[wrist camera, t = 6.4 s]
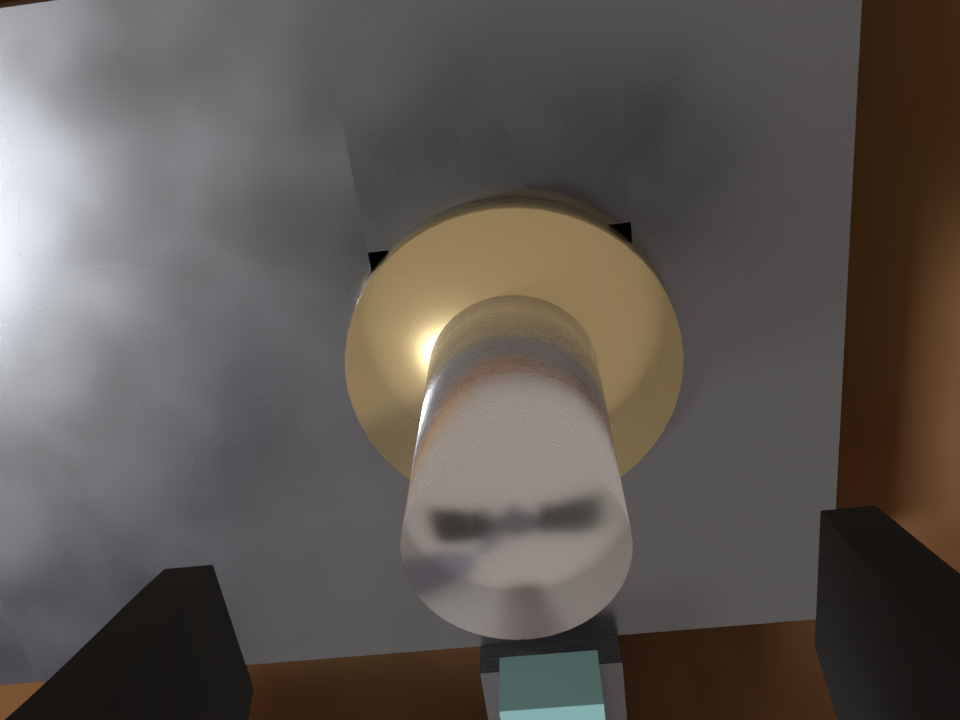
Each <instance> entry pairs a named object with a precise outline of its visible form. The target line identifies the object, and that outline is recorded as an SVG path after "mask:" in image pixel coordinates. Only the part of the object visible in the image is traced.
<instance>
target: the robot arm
mask: <svg viewBox="0 0 960 720" xmlns="http://www.w3.org/2000/svg"><path fill="white" fill-rule="evenodd" d="M815 647H816V651H817V654H818V657H819V661H820V664H821V667H822V671H823V674H824V677H825V681H826V684H827V687H828V690H829V694H830V697H831V700H832V703H833V706H834V709H835V712H836V715H837V718H838V720H960V574H959V573H958V572H957V571H955V570H954V569H953V568H952V567H950V566H949V565H948V564H947V563H945V562H944V561H943V560H942V559H940V558H939V557H938V556H937V555H935V554H934V553H933V552H932V551H931V550H929V549H928V548H927V547H926V546H924V545H923V544H922V543H921V542H920V541H918V540H917V539H916V538H915V537H913V536H912V535H911V534H910V533H908V532H907V531H906V530H905V529H904V528H902V527H901V526H900V525H899V524H897V523H896V522H895V521H894V520H893V519H891V518H890V517H889V516H888V515H886V514H885V513H884V512H882V511H881V510H880V509H879V508H877V507H876V506H867V507H856V508H845V509H833V510H822V511H821V512H820V535H819V558H818V581H817V605H816V628H815ZM252 694H253V686H252V683H251V680H250V677H249V673H248V670H247V667H246V664H245V661H244V658H243V655H242V652H241V649H240V646H239V643H238V640H237V637H236V634H235V631H234V628H233V625H232V622H231V618H230V615H229V612H228V609H227V606H226V603H225V600H224V597H223V594H222V591H221V588H220V585H219V582H218V579H217V576H216V573H215V570H214V567H213V565H204V566H192V567H181V568H170V569H164V570H163V571H162V572H161V573H160V574H158V575H157V576H156V577H155V578H154V579H153V580H152V581H151V582H149V583H148V584H147V585H146V586H145V587H144V588H143V589H142V590H141V591H140V592H139V593H138V594H137V595H136V596H135V597H134V598H132V599H131V600H130V601H129V602H128V603H127V604H126V605H125V606H124V607H123V608H122V609H121V610H120V611H119V612H118V613H117V614H116V615H115V616H114V617H113V618H112V619H111V620H110V621H109V622H108V623H107V624H106V625H105V626H104V627H103V628H102V629H101V630H100V631H99V632H98V633H97V634H96V635H95V636H94V637H93V638H92V639H91V640H90V641H88V642H87V643H86V644H85V645H84V646H83V647H82V648H81V649H80V650H79V651H78V652H77V653H76V654H75V655H74V656H73V657H72V658H71V659H70V660H69V661H68V662H67V663H66V664H65V665H63V666H62V667H61V668H60V669H59V670H58V671H57V672H56V673H55V674H54V675H53V676H52V677H51V678H50V679H49V680H48V681H47V682H46V683H45V684H44V685H43V686H42V687H41V688H40V689H38V690H37V691H36V692H35V693H34V694H33V695H32V696H31V697H30V698H29V699H28V700H27V701H26V702H24V703H23V704H22V705H21V706H20V707H19V708H18V709H17V710H15V711H14V712H13V713H12V714H11V715H10V716H9V717H8V718H6V719H5V720H248V717H249V711H250V705H251V700H252Z"/></svg>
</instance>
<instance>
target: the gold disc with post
mask: <svg viewBox="0 0 960 720" xmlns="http://www.w3.org/2000/svg"><path fill="white" fill-rule="evenodd" d="M345 375H346V382H347V389H348V393H349V396H350V400H351V403H352V406H353V409H354V412H355V414H356V416H357V418H358V420H359V423H360V425H361V427H362V428H363V430H364V432H365V433H366V435H367V436H368V438H369V439H370V441H371V443H372V444H373V445H374V446H375V448H376V449H377V450H378V451H379V452H380V454H381V455H382V456H383V457H384V458H385V459H386V460H387V461H388V462H389V463H390V464H391V465H392V466H393V467H394V468H396V469H397V470H398V471H399V472H400V473H402V474H403V475H404V476H406V477H407V478H408V479H410V484H409V490H408V496H407V502H406V509H405V515H404V521H403V527H402V533H401V544H400V552H401V559H402V564H403V568H404V571H405V574H406V576H407V578H408V581H409V583H410V585H411V586H412V588H413V589H414V591H415V592H416V594H417V595H418V597H419V598H420V599H421V600H422V601H423V602H424V603H425V604H426V605H427V606H428V607H429V608H430V609H431V610H432V611H433V612H435V613H436V614H437V615H439V616H440V617H441V618H443V619H444V620H446V621H447V622H449V623H451V624H453V625H455V626H457V627H459V628H461V629H464V630H467V631H469V632H472V633H475V634H479V635H482V636H486V637H492V638H498V639H510V640H522V639H535V638H542V637H547V636H551V635H555V634H558V633H561V632H564V631H567V630H570V629H572V628H574V627H576V626H578V625H580V624H582V623H584V622H586V621H587V620H589V619H590V618H592V617H594V616H595V615H596V614H597V613H599V612H600V611H601V610H602V609H604V608H605V607H606V606H607V604H608V603H609V602H610V601H611V600H612V599H613V598H614V597H615V595H616V594H617V593H618V591H619V590H620V588H621V587H622V585H623V583H624V581H625V579H626V577H627V574H628V571H629V568H630V565H631V559H632V549H633V541H632V535H631V528H630V523H629V518H628V513H627V508H626V503H625V498H624V493H623V488H622V483H621V478H620V477H622V476H623V475H625V474H626V473H627V472H628V471H629V470H630V469H631V468H633V467H634V466H635V465H636V464H637V463H638V462H640V460H641V459H642V458H643V457H644V456H645V455H646V454H647V453H648V451H649V450H650V449H651V448H652V447H653V446H654V444H655V443H656V441H657V440H658V438H659V437H660V435H661V434H662V433H663V431H664V429H665V427H666V425H667V423H668V421H669V419H670V417H671V415H672V413H673V411H674V408H675V405H676V402H677V399H678V396H679V392H680V387H681V381H682V376H683V347H682V338H681V333H680V329H679V325H678V321H677V318H676V314H675V312H674V310H673V307H672V305H671V302H670V300H669V297H668V295H667V293H666V290H665V288H664V286H663V283H662V281H661V280H660V278H659V276H658V275H657V273H656V271H655V270H654V268H653V267H652V265H651V263H650V262H649V261H648V260H647V259H646V258H645V256H644V255H643V254H642V253H641V252H640V250H639V249H638V248H637V247H636V246H635V245H634V244H633V243H631V242H630V241H629V240H628V239H627V238H626V237H625V236H624V235H623V234H621V233H620V232H619V231H617V230H616V229H614V228H613V227H611V226H610V225H608V224H607V223H605V222H604V221H602V220H600V219H598V218H596V217H594V216H592V215H590V214H588V213H586V212H584V211H582V210H579V209H576V208H573V207H570V206H567V205H564V204H561V203H556V202H551V201H546V200H541V199H531V198H518V197H514V198H496V199H488V200H483V201H477V202H472V203H468V204H465V205H462V206H459V207H456V208H453V209H449V210H447V211H445V212H443V213H441V214H439V215H436V216H434V217H432V218H430V219H428V220H426V221H425V222H423V223H422V224H420V225H419V226H417V227H416V228H414V229H413V230H411V231H410V232H408V233H407V234H406V235H405V236H404V237H402V238H401V239H400V240H399V241H398V242H397V243H395V244H394V245H393V246H392V247H391V249H390V250H389V251H388V252H387V253H386V254H385V255H384V256H383V258H382V259H381V260H380V261H379V262H378V264H377V265H376V267H375V268H374V270H373V271H372V273H371V275H370V276H369V278H368V279H367V281H366V284H365V286H364V288H363V290H362V292H361V294H360V296H359V299H358V302H357V305H356V307H355V310H354V313H353V316H352V320H351V323H350V326H349V329H348V334H347V340H346V347H345Z"/></svg>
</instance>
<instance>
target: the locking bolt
mask: <svg viewBox="0 0 960 720" xmlns="http://www.w3.org/2000/svg"><path fill="white" fill-rule="evenodd" d="M499 713H500V719H501V720H605V710H604V701H603V693H602V684H601V676H600V668H599V660H598V652H597V650H591V651H579V652H566V653H553V654H541V655H528V656H516V657H503V658H500V673H499Z"/></svg>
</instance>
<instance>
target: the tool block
mask: <svg viewBox="0 0 960 720" xmlns="http://www.w3.org/2000/svg"><path fill="white" fill-rule="evenodd" d="M861 10H862V0H16V1H9V2H2V3H0V685H5V684H17V683H30V682H42V681H48V680H49V679H50V678H51V677H52V676H53V675H54V674H55V673H56V672H57V671H58V670H59V669H60V668H61V667H62V666H63V665H65V664H66V663H67V662H68V661H69V660H70V659H71V658H72V657H73V656H74V655H75V654H76V653H77V652H78V651H79V650H80V649H81V648H82V647H83V646H84V645H85V644H86V643H87V642H88V641H90V640H91V639H92V638H93V637H94V636H95V635H96V634H97V633H98V632H99V631H100V630H101V629H102V628H103V627H104V626H105V625H106V624H107V623H108V622H109V621H110V620H111V619H112V618H113V617H114V616H115V615H116V614H117V613H118V612H119V611H120V610H121V609H122V608H123V607H124V606H125V605H126V604H127V603H128V602H129V601H130V600H131V599H132V598H134V597H135V596H136V595H137V594H138V593H139V592H140V591H141V590H142V589H143V588H144V587H145V586H146V585H147V584H148V583H149V582H151V581H152V580H153V579H154V578H155V577H156V576H157V575H158V574H160V573H161V572H162V571H163V570H164V569H170V568H181V567H192V566H204V565H213V567H214V570H215V573H216V576H217V579H218V582H219V585H220V588H221V591H222V594H223V597H224V600H225V603H226V606H227V609H228V612H229V615H230V618H231V622H232V625H233V628H234V631H235V634H236V637H237V640H238V643H239V646H240V649H241V652H242V655H243V658H244V661H245V664H246V665H254V664H266V663H279V662H291V661H303V660H316V659H328V658H341V657H353V656H366V655H378V654H390V653H403V652H415V651H428V650H440V649H453V648H465V647H477V646H481V664H480V675H481V681H482V687H483V693H484V698H485V704H486V710H487V715H488V720H501V719H500V713H499V673H500V658H503V657H516V656H528V655H541V654H553V653H566V652H579V651H591V650H597V652H598V660H599V668H600V676H601V684H602V693H603V701H604V710H605V720H627V712H626V700H625V688H624V676H623V664H622V657H621V650H620V644H619V637H618V635H627V634H639V633H651V632H664V631H676V630H689V629H701V628H714V627H726V626H738V625H751V624H763V623H776V622H788V621H801V620H813V619H816V605H817V581H818V558H819V535H820V512H821V511H822V510H833V509H836V496H837V477H838V457H839V438H840V418H841V399H842V380H843V360H844V341H845V321H846V302H847V282H848V263H849V244H850V224H851V205H852V185H853V166H854V146H855V127H856V108H857V88H858V69H859V49H860V30H861ZM514 197H518V198H531V199H541V200H546V201H551V202H556V203H561V204H564V205H567V206H570V207H573V208H576V209H579V210H582V211H584V212H586V213H588V214H590V215H592V216H594V217H596V218H598V219H600V220H602V221H604V222H605V223H607V224H608V225H611V224H618V228H619V232H620V233H621V234H623V235H624V236H625V237H626V238H627V239H628V240H629V241H630V242H631V243H633V244H634V245H635V246H636V247H637V248H638V249H639V250H640V252H641V253H642V254H643V255H644V256H645V258H646V259H647V260H648V261H649V262H650V263H651V265H652V267H653V268H654V270H655V271H656V273H657V275H658V276H659V278H660V280H661V281H662V283H663V286H664V288H665V290H666V293H667V295H668V297H669V300H670V302H671V305H672V307H673V310H674V312H675V314H676V318H677V321H678V325H679V329H680V333H681V338H682V347H683V376H682V381H681V387H680V392H679V396H678V399H677V402H676V405H675V408H674V411H673V413H672V415H671V417H670V419H669V421H668V423H667V425H666V427H665V429H664V431H663V433H662V434H661V435H660V437H659V438H658V440H657V441H656V443H655V444H654V446H653V447H652V448H651V449H650V450H649V451H648V453H647V454H646V455H645V456H644V457H643V458H642V459H641V460H640V462H638V463H637V464H636V465H635V466H634V467H633V468H631V469H630V470H629V471H628V472H627V473H626V474H625V475H623V476H622V477H620V478H621V483H622V488H623V493H624V498H625V503H626V508H627V513H628V518H629V523H630V528H631V535H632V541H633V549H632V559H631V565H630V568H629V571H628V574H627V577H626V579H625V581H624V583H623V585H622V587H621V588H620V590H619V591H618V593H617V594H616V595H615V597H614V598H613V599H612V600H611V601H610V602H609V603H608V604H607V606H606V607H605V608H604V609H602V610H601V611H600V612H599V613H597V614H596V615H595V616H594V617H592V618H590V619H589V620H587V621H586V622H584V623H582V624H580V625H578V626H576V627H574V628H572V629H570V630H567V631H564V632H561V633H558V634H555V635H551V636H547V637H542V638H535V639H522V640H510V639H498V638H492V637H486V636H482V635H479V634H475V633H472V632H469V631H467V630H464V629H461V628H459V627H457V626H455V625H453V624H451V623H449V622H447V621H446V620H444V619H443V618H441V617H440V616H439V615H437V614H436V613H435V612H433V611H432V610H431V609H430V608H429V607H428V606H427V605H426V604H425V603H424V602H423V601H422V600H421V599H420V598H419V597H418V595H417V594H416V592H415V591H414V589H413V588H412V586H411V585H410V583H409V581H408V578H407V576H406V574H405V571H404V568H403V564H402V559H401V552H400V544H401V533H402V527H403V521H404V515H405V509H406V502H407V496H408V490H409V484H410V479H408V478H407V477H406V476H404V475H403V474H402V473H400V472H399V471H398V470H397V469H396V468H394V467H393V466H392V465H391V464H390V463H389V462H388V461H387V460H386V459H385V458H384V457H383V456H382V455H381V454H380V452H379V451H378V450H377V449H376V448H375V446H374V445H373V444H372V443H371V441H370V439H369V438H368V436H367V435H366V433H365V432H364V430H363V428H362V427H361V425H360V423H359V420H358V418H357V416H356V414H355V412H354V409H353V406H352V403H351V400H350V396H349V393H348V389H347V382H346V375H345V347H346V340H347V334H348V329H349V326H350V323H351V320H352V316H353V313H354V310H355V307H356V305H357V302H358V299H359V296H360V294H361V292H362V290H363V288H364V286H365V284H366V281H367V279H368V278H369V276H370V275H371V273H372V271H373V270H374V268H375V267H376V265H377V264H378V262H379V261H380V260H381V259H382V258H383V256H384V255H385V254H386V253H387V252H388V251H389V250H390V249H391V247H392V246H393V245H394V244H395V243H397V242H398V241H399V240H400V239H401V238H402V237H404V236H405V235H406V234H407V233H408V232H410V231H411V230H413V229H414V228H416V227H417V226H419V225H420V224H422V223H423V222H425V221H426V220H428V219H430V218H432V217H434V216H436V215H439V214H441V213H443V212H445V211H447V210H449V209H453V208H456V207H459V206H462V205H465V204H468V203H472V202H477V201H483V200H488V199H496V198H514Z"/></svg>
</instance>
